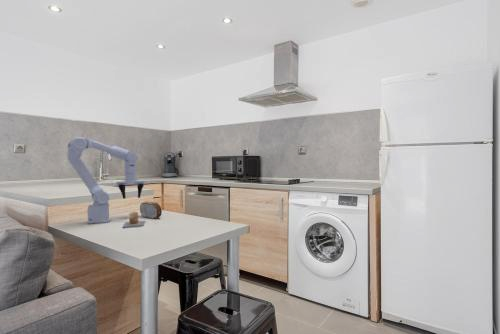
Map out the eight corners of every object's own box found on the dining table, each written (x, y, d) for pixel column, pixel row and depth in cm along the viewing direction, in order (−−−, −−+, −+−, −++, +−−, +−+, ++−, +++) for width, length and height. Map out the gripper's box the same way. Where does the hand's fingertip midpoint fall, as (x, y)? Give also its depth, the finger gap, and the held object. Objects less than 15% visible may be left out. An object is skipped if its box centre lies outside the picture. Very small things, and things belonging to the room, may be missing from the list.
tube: (130, 224, 132) (130, 214, 131) (128, 223, 135) (128, 212, 135) (139, 223, 134) (139, 213, 134) (137, 221, 137) (137, 211, 137)
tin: (162, 218, 148) (161, 202, 148) (157, 219, 145) (157, 203, 145) (143, 216, 156) (143, 200, 156) (139, 217, 153) (138, 201, 153)
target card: (122, 228, 128) (122, 226, 128) (125, 223, 138) (125, 221, 138) (143, 226, 131) (143, 224, 131) (144, 221, 141) (144, 220, 140)
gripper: (114, 174, 148) (115, 199, 148) (143, 173, 150) (144, 198, 151) (118, 173, 155) (119, 197, 155) (145, 172, 157) (146, 196, 158)
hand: (131, 198), depth 153 cm, fingers open, 7 cm apart
